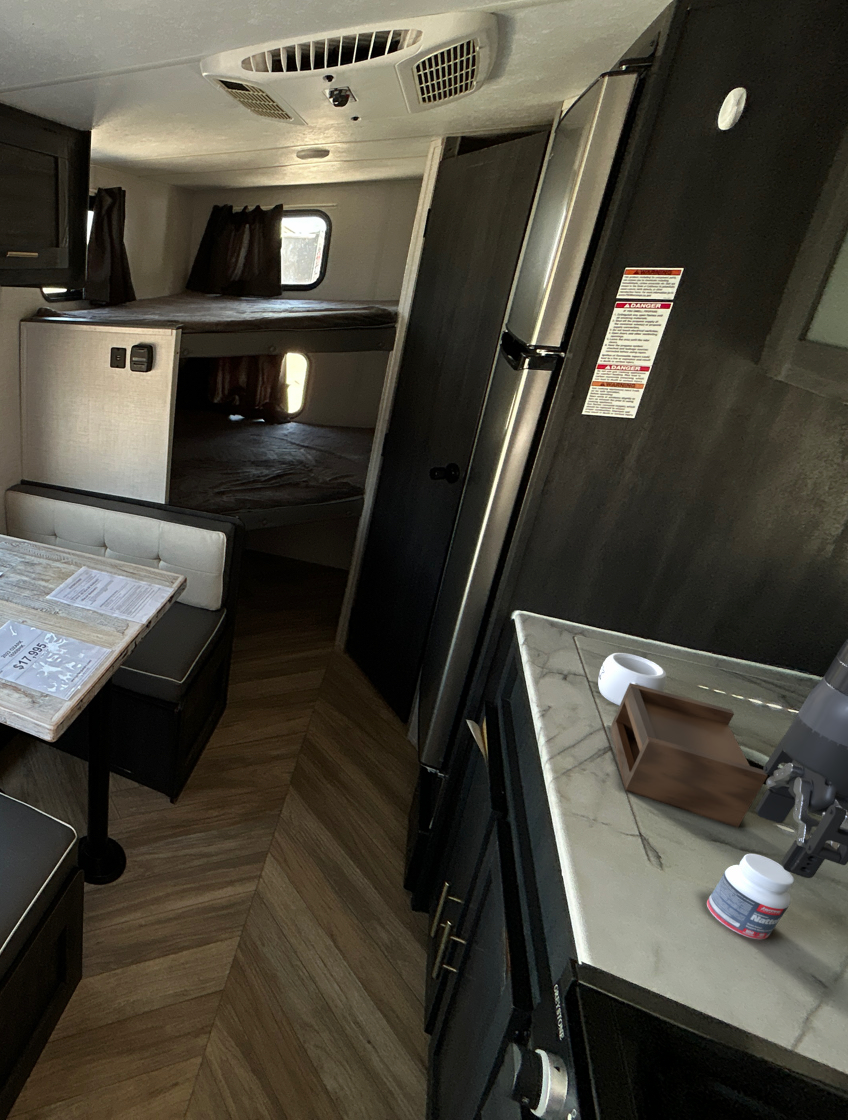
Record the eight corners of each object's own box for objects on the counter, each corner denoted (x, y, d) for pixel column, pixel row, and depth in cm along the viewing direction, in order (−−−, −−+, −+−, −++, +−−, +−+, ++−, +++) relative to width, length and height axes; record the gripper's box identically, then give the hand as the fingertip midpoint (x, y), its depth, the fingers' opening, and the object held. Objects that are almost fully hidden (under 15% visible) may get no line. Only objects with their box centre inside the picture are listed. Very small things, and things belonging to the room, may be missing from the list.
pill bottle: (742, 946, 73) (777, 892, 69) (693, 903, 77) (723, 851, 74) (780, 939, 73) (816, 885, 70) (728, 897, 78) (760, 845, 75)
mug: (592, 680, 119) (606, 644, 116) (652, 699, 114) (669, 662, 111) (590, 712, 110) (605, 675, 107) (654, 734, 105) (672, 695, 102)
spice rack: (705, 760, 100) (731, 709, 96) (736, 831, 87) (767, 776, 83) (608, 731, 106) (629, 682, 102) (624, 793, 93) (648, 740, 89)
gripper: (950, 790, 57) (858, 912, 63) (875, 705, 68) (804, 816, 74) (829, 756, 61) (754, 874, 67) (777, 681, 72) (717, 788, 78)
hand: (780, 843), depth 71 cm, fingers open, 8 cm apart
